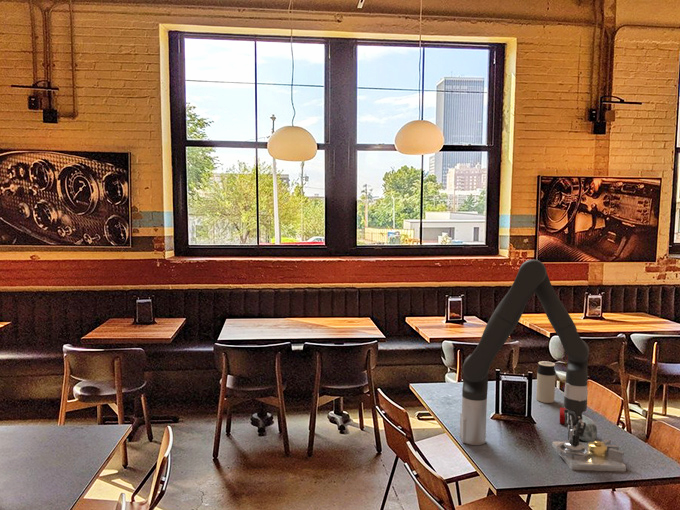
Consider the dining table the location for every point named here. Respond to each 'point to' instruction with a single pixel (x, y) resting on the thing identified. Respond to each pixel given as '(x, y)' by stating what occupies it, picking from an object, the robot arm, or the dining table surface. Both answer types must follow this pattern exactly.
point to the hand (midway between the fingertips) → (573, 442)
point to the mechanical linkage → (562, 415)
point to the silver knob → (570, 446)
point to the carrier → (593, 456)
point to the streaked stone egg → (589, 430)
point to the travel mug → (545, 382)
